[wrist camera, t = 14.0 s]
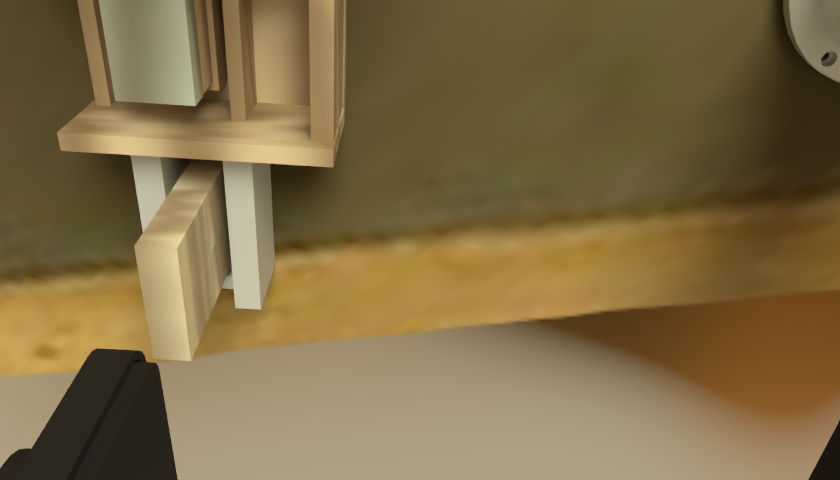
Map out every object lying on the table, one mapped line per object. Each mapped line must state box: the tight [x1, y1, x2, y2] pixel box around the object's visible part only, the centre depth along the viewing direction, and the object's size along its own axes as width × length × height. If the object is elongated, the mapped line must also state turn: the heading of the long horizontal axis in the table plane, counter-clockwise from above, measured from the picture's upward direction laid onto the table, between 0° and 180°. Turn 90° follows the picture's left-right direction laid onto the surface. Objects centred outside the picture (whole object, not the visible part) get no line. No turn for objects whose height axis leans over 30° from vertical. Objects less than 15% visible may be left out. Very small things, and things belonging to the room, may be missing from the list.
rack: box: [57, 0, 347, 167], centre depth 36 cm, size 14×11×7 cm
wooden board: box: [134, 159, 232, 361], centre depth 40 cm, size 2×7×12 cm, turn 176°
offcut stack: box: [99, 0, 228, 106], centre depth 36 cm, size 5×7×6 cm
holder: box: [131, 155, 275, 310], centre depth 43 cm, size 7×10×5 cm, turn 176°
